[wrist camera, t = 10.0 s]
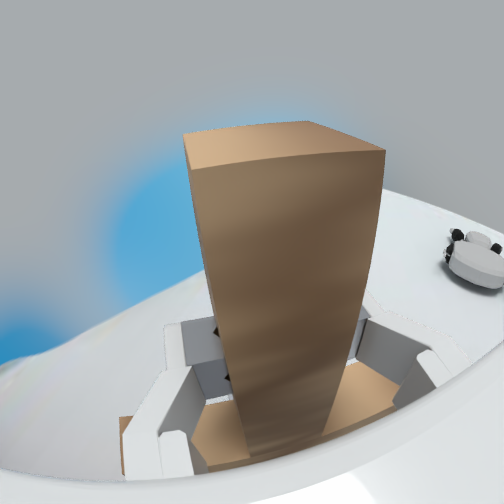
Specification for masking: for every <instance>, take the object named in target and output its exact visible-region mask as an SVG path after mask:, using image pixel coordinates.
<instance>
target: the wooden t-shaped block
mask: <svg viewBox="0 0 504 504" xmlns="http://www.w3.org/2000/svg"><path fill="white" fill-rule="evenodd" d="M183 141H184V148H185V155H186V162H187V169H188V176H189V182H190V189H191V195H192V201H193V207H194V213H195V219H196V225H197V231H198V236H199V242H200V247H201V252H202V258H203V264H204V269H205V274H206V279H207V284H208V289H209V294H210V299H211V304H212V308H213V313H214V316H215V319H216V324H217V328H218V333H219V337H220V340H221V344H222V348H223V352H224V355H225V359H226V364H227V368H228V374H229V377H230V381H231V385H232V389H233V394H232V395H233V400H229V401H224V402H219V403H215V404H210V405H205V406H204V409H203V411H202V414H201V416H200V419H199V421H198V424H197V426H196V429H195V431H194V434H193V436H192V439H191V442H192V443H193V444H194V446H195V447H196V448H197V450H198V451H199V453H200V454H201V455H202V457H203V458H204V459H205V461H206V463H207V467H208V471H209V473H212V472H218V471H224V470H229V469H234V468H238V467H243V466H247V465H252V464H256V463H260V462H264V461H268V460H271V459H275V458H279V457H282V456H285V455H289V454H292V453H295V452H298V451H302V450H305V449H308V448H310V447H313V446H316V445H319V444H322V443H325V442H327V441H330V440H333V439H335V438H338V437H340V436H343V435H345V434H348V433H350V432H352V431H355V430H357V429H359V428H362V427H364V426H366V425H368V424H371V423H373V422H375V421H377V420H379V419H381V418H383V417H385V416H387V415H389V414H391V413H393V412H395V411H397V409H396V407H395V406H394V404H393V402H392V399H393V397H394V395H395V393H396V392H397V390H398V388H399V387H400V386H399V385H397V384H395V383H394V382H392V381H391V380H389V379H387V378H386V377H384V376H382V375H381V374H379V373H378V372H376V371H374V370H373V369H371V368H370V367H368V366H366V365H365V364H363V363H362V362H360V361H359V362H356V363H354V364H351V365H348V366H346V362H347V359H348V356H349V352H350V349H351V345H352V341H353V338H354V334H355V330H356V326H357V322H358V318H359V314H360V310H361V306H362V302H363V297H364V293H365V288H366V284H367V279H368V274H369V269H370V264H371V259H372V253H373V247H374V242H375V236H376V229H377V223H378V216H379V209H380V202H381V194H382V185H383V175H384V165H385V154H386V150H385V149H382V148H380V147H378V146H375V145H373V144H370V143H368V142H365V141H363V140H360V139H358V138H355V137H352V136H350V135H347V134H345V133H342V132H339V131H336V130H334V129H330V128H328V127H325V126H322V125H319V124H316V123H313V122H310V121H298V122H297V121H296V122H281V123H267V124H256V125H246V126H237V127H230V128H221V129H214V130H207V131H200V132H194V133H188V134H183ZM345 366H346V367H345ZM132 418H133V416H126V417H119V424H120V451H121V466H122V474H123V475H124V476H125V471H124V457H123V437H122V434H123V433H124V431H125V430H126V428H127V426H128V425H129V423H130V421H131V420H132Z"/></svg>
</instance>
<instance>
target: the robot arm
mask: <svg viewBox="0 0 504 504" xmlns="http://www.w3.org/2000/svg"><path fill="white" fill-rule="evenodd" d="M164 346H165V359H166V370H164V371H161V372H160V374H159V376H158V377H157V379H156V381H155V382H154V384H153V385H152V387H151V389H150V390H149V392H148V394H147V395H146V397H145V398H144V400H143V402H142V403H141V405H140V407H139V408H138V410H137V411H136V413H135V415H134V416H133V418H132V420H131V421H130V423H129V425H128V426H127V428H126V430H125V431H124V433H123V434H122V437H123V457H124V471H125V481H96V480H78V479H66V478H56V477H48V476H41V475H35V474H29V473H23V472H18V471H13V470H8V469H4V468H0V504H504V340H503V341H502V342H501V343H499V344H498V345H497V346H496V347H494V348H493V349H492V350H491V351H489V352H488V353H487V354H486V355H484V356H483V357H482V358H480V359H479V360H478V361H476V362H475V363H472V362H471V360H470V359H469V358H468V357H467V356H466V354H465V353H464V352H463V351H462V349H461V348H460V347H459V346H458V345H457V343H456V342H455V341H454V340H453V339H452V338H451V336H449V335H446V334H444V333H442V332H439V331H437V330H434V329H432V328H430V327H427V326H425V325H422V324H420V323H418V322H415V321H413V320H410V319H408V318H406V317H403V316H401V315H398V314H396V313H393V312H391V311H387V312H385V311H384V309H383V308H382V307H381V306H380V305H379V303H378V302H377V301H376V300H375V299H374V297H373V296H372V295H371V294H370V293H369V291H368V290H367V289H366V288H365V293H364V297H363V302H362V306H361V310H360V314H359V318H358V322H357V326H356V330H355V334H354V338H353V341H352V345H351V349H350V352H349V356H348V359H347V360H350V359H353V358H356V359H357V360H358V361H360V362H362V363H363V364H365V365H366V366H368V367H370V368H371V369H373V370H374V371H376V372H378V373H379V374H381V375H382V376H384V377H386V378H387V379H389V380H391V381H392V382H394V383H395V384H397V385H399V386H400V387H399V388H398V390H397V392H396V393H395V395H394V397H393V399H392V402H393V404H394V406H395V407H396V409H397V411H395V412H393V413H391V414H389V415H387V416H385V417H383V418H381V419H379V420H377V421H375V422H373V423H371V424H368V425H366V426H364V427H362V428H359V429H357V430H355V431H352V432H350V433H348V434H345V435H343V436H340V437H338V438H335V439H333V440H330V441H327V442H325V443H322V444H319V445H316V446H313V447H310V448H308V449H305V450H302V451H298V452H295V453H292V454H289V455H285V456H282V457H279V458H275V459H271V460H268V461H264V462H260V463H256V464H252V465H247V466H243V467H238V468H234V469H229V470H224V471H218V472H212V473H209V471H208V467H207V463H206V461H205V459H204V458H203V457H202V455H201V454H200V453H199V451H198V450H197V448H196V447H195V446H194V444H193V443H192V442H191V439H192V436H193V434H194V431H195V429H196V426H197V424H198V421H199V419H200V416H201V414H202V411H203V409H204V406H205V404H206V400H207V399H212V398H216V397H221V396H225V395H229V394H233V389H232V385H231V381H230V377H229V374H228V368H227V364H226V359H225V355H224V352H223V348H222V344H221V340H220V337H219V333H218V328H217V324H216V319H215V316H212V317H206V318H201V319H195V320H189V321H183V322H180V323H174V324H167V325H164Z"/></svg>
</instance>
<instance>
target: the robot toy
mask: <svg viewBox="0 0 504 504" xmlns="http://www.w3.org/2000/svg"><path fill="white" fill-rule="evenodd" d="M450 233H451V234H452V239H453V240H454V241H455V243H454V244H450V245H449V246H448V247H447V249H446V250H445V249H444V252H443V253H444V257H445V258H446V262H447V263H448V264H449V268H450V269H451V270H452V271H453V272H454V273H455V274H456V275H458V276H459V277H462V278H463V279H465V280H468V281H470V282H472V283H474V284H476V285H480V286H483V287H487V288H492V289H496V288H501V287H502V285H504V259H503V258H502V257H501V256H500V255H499V254H500V253H501V251H502V247H501V246H500V245H499V244H497V243H495V244H494V245H492V247H491V241H490V238H488V237H487V236H485V235H483V234H481V233H478V232H475V231H470V232H469V233H467V235H466V238H465V240H464V234H463V233H462V232H461V230H459V229H453V228H451V229H450Z"/></svg>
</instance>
